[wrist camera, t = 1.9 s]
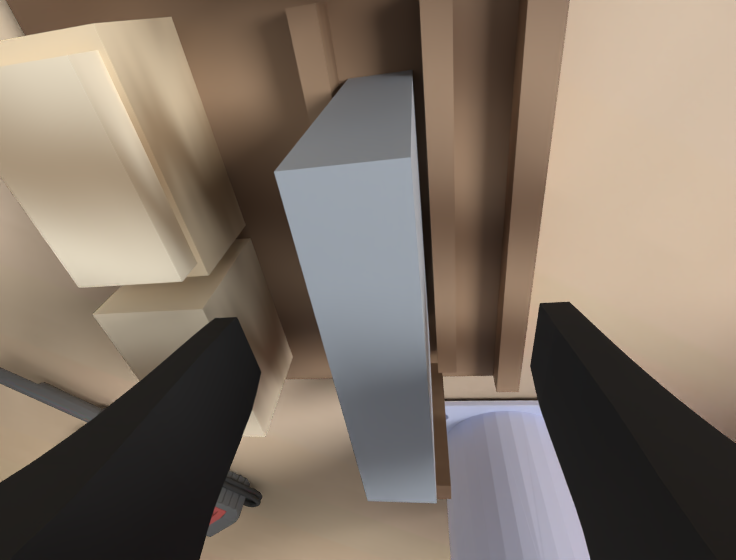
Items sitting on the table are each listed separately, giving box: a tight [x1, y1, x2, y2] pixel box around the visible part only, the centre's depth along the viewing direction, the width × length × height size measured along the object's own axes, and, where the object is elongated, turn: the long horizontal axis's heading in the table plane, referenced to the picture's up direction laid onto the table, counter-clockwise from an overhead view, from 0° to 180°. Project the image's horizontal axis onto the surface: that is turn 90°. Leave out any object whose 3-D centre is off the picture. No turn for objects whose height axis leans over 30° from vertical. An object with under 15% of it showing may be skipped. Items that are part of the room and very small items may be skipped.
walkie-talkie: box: [0, 367, 262, 537], centre depth 27 cm, size 9×4×20 cm
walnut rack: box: [6, 0, 570, 499], centre depth 13 cm, size 18×16×7 cm
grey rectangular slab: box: [274, 70, 437, 503], centre depth 12 cm, size 10×2×8 cm, turn 8°
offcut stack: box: [0, 17, 293, 437], centre depth 14 cm, size 15×4×4 cm, turn 8°
